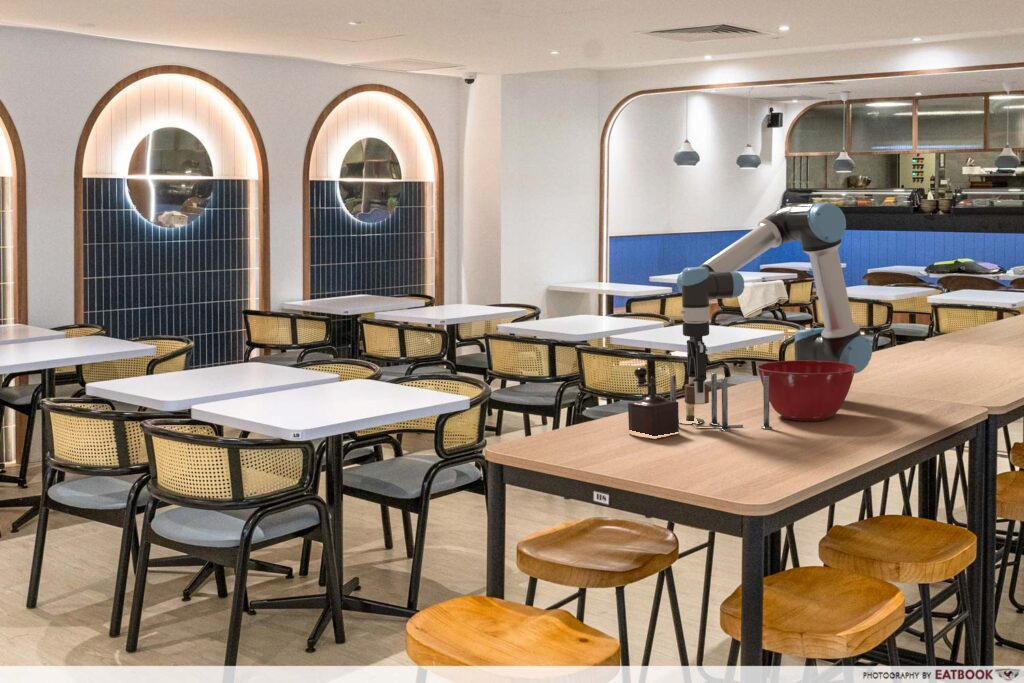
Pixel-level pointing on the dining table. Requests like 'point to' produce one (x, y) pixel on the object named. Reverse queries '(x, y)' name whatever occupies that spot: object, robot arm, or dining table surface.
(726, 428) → the wire course
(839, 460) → the dining table surface
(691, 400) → the napkin ring
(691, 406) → the brass peg
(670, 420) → the brown coffee grinder
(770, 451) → the dining table surface
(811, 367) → the mixing bowl
